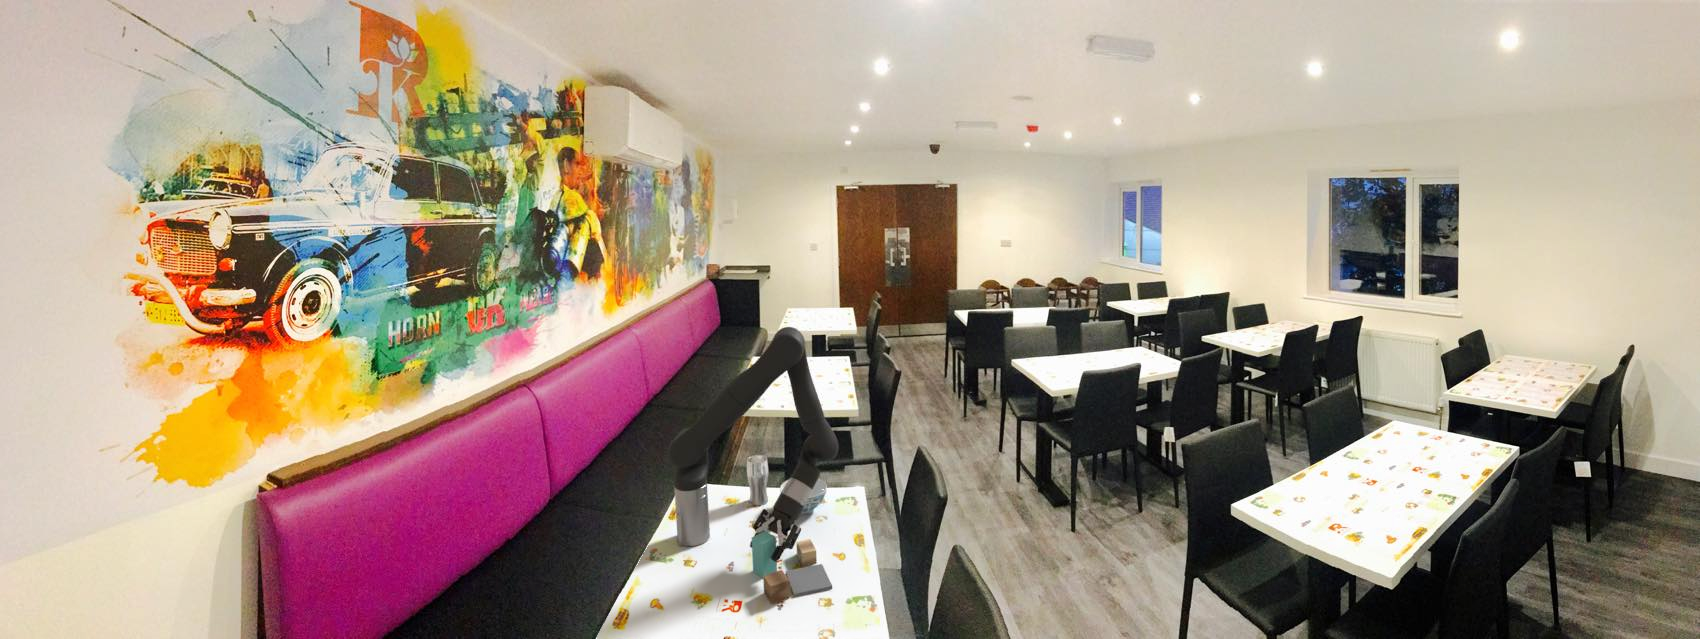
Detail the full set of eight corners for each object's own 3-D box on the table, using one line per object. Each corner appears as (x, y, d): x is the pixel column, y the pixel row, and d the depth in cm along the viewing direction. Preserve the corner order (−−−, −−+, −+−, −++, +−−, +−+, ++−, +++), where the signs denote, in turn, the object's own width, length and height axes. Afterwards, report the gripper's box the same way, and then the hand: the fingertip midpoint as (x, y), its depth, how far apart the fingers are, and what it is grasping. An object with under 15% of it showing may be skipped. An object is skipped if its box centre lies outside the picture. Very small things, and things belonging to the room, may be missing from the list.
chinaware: (825, 521, 184) (825, 498, 183) (777, 521, 184) (777, 498, 183) (828, 497, 199) (828, 476, 197) (783, 497, 199) (783, 476, 198)
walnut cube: (771, 604, 146) (770, 586, 145) (764, 593, 150) (763, 575, 149) (789, 598, 148) (789, 580, 147) (782, 587, 152) (781, 569, 151)
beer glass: (765, 507, 193) (763, 464, 190) (745, 505, 194) (743, 462, 192) (772, 497, 200) (770, 455, 197) (752, 495, 201) (750, 454, 198)
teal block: (764, 578, 156) (762, 543, 154) (753, 571, 159) (751, 537, 157) (776, 570, 159) (775, 536, 157) (766, 564, 162) (764, 530, 160)
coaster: (794, 596, 148) (794, 593, 148) (785, 573, 158) (785, 571, 158) (832, 588, 152) (832, 585, 151) (821, 566, 161) (821, 563, 161)
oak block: (816, 563, 163) (816, 550, 162) (802, 566, 161) (802, 553, 160) (810, 551, 168) (810, 539, 167) (796, 554, 167) (796, 541, 166)
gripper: (768, 485, 166) (737, 539, 160) (803, 501, 157) (772, 560, 150) (783, 496, 171) (753, 549, 165) (818, 512, 162) (788, 569, 155)
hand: (762, 554), depth 158 cm, fingers open, 8 cm apart
